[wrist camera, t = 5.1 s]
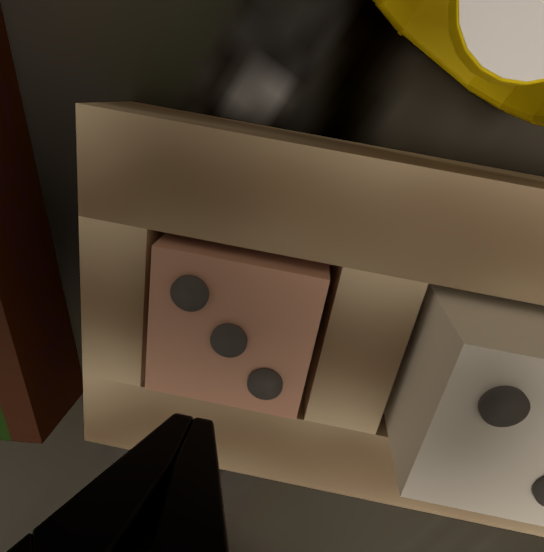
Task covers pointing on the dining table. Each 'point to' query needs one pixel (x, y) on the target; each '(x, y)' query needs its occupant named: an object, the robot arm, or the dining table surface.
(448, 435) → the tile two
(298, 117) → the dining table surface
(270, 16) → the dining table surface
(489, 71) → the watch
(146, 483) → the robot arm
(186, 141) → the board
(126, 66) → the dining table surface
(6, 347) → the hardcover book
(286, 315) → the tile three
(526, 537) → the dining table surface
